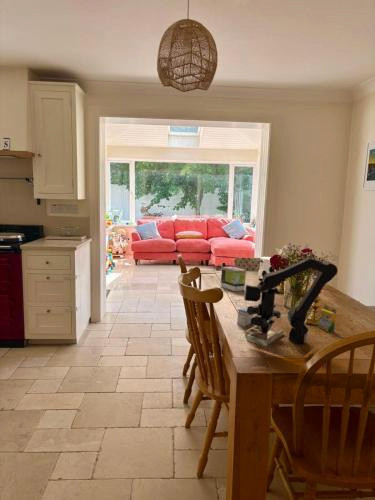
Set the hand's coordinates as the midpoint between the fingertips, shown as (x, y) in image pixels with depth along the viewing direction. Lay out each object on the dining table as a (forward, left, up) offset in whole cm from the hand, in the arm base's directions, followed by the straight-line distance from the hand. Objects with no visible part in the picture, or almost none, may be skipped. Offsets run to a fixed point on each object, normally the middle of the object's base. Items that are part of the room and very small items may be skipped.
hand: (264, 336), depth 158 cm
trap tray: (+1, -1, -2) cm, 3 cm away
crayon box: (-17, -37, -2) cm, 40 cm away
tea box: (+58, -73, -2) cm, 93 cm away
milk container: (+53, -122, -2) cm, 133 cm away
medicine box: (+15, -11, -2) cm, 19 cm away
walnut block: (0, +4, -1) cm, 4 cm away
